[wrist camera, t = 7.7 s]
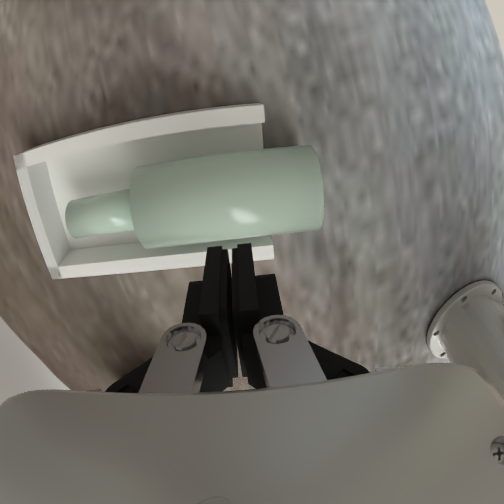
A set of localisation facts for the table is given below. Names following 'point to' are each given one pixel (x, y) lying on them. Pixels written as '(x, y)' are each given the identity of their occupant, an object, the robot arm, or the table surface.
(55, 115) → the table surface
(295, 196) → the bottle
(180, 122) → the u rest
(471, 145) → the table surface
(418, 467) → the robot arm
